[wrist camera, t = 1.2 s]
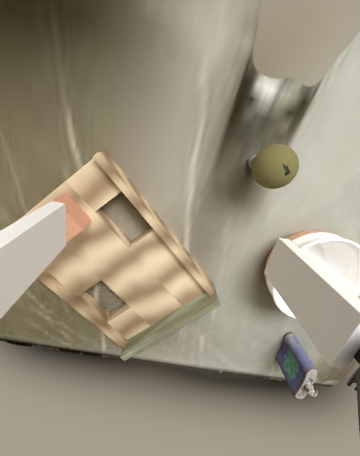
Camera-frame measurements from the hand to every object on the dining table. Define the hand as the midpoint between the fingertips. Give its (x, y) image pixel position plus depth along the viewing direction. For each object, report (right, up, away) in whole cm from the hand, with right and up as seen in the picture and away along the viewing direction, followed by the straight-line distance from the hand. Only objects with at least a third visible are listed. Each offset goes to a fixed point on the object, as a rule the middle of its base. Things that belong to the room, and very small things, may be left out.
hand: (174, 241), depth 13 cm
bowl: (+23, -5, +29) cm, 37 cm away
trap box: (-11, -5, +27) cm, 29 cm away
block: (-18, +3, +21) cm, 27 cm away
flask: (+25, -27, +38) cm, 54 cm away
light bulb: (+12, +12, +22) cm, 28 cm away
